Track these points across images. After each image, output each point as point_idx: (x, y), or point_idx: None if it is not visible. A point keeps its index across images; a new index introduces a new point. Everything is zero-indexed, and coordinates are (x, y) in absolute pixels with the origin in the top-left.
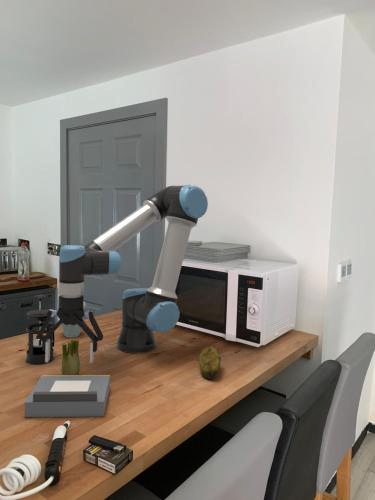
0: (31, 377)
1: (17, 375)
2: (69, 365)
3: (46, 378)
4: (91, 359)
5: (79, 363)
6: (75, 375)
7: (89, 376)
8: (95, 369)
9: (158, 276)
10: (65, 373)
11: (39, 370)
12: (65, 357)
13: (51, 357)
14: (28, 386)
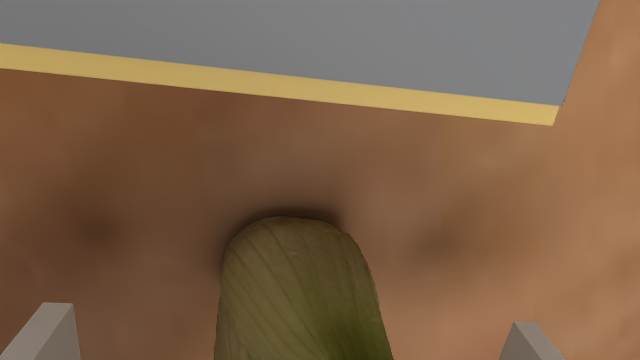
0: (543, 265)
1: (619, 295)
2: (298, 279)
3: (520, 29)
4: (27, 332)
5: (215, 348)
6: (210, 81)
7: (23, 21)
8: (125, 355)
9: None
10: (327, 234)
11: (491, 350)
12: (353, 345)
13: None
14: (575, 135)
